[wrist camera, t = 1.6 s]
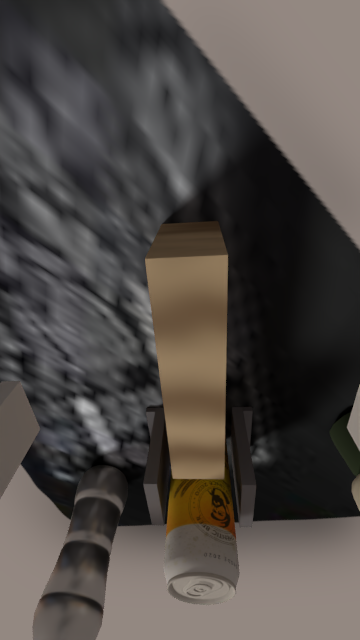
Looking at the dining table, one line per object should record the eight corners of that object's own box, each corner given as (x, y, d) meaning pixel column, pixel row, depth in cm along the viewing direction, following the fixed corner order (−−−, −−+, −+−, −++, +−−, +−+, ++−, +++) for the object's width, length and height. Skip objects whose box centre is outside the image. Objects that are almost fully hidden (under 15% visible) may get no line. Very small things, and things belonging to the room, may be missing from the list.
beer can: (234, 425, 35) (257, 588, 22) (208, 453, 38) (214, 612, 25) (189, 406, 34) (185, 566, 21) (166, 436, 37) (149, 594, 24)
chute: (146, 407, 34) (131, 483, 26) (251, 406, 33) (268, 485, 25) (153, 447, 38) (142, 525, 30) (248, 447, 37) (262, 527, 29)
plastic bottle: (111, 452, 39) (41, 698, 21) (140, 480, 41) (100, 718, 24) (74, 466, 40) (-18, 702, 23) (104, 491, 43) (42, 720, 26)
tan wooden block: (162, 223, 24) (144, 258, 16) (217, 220, 24) (227, 255, 16) (178, 403, 34) (172, 478, 26) (217, 402, 33) (224, 479, 26)
